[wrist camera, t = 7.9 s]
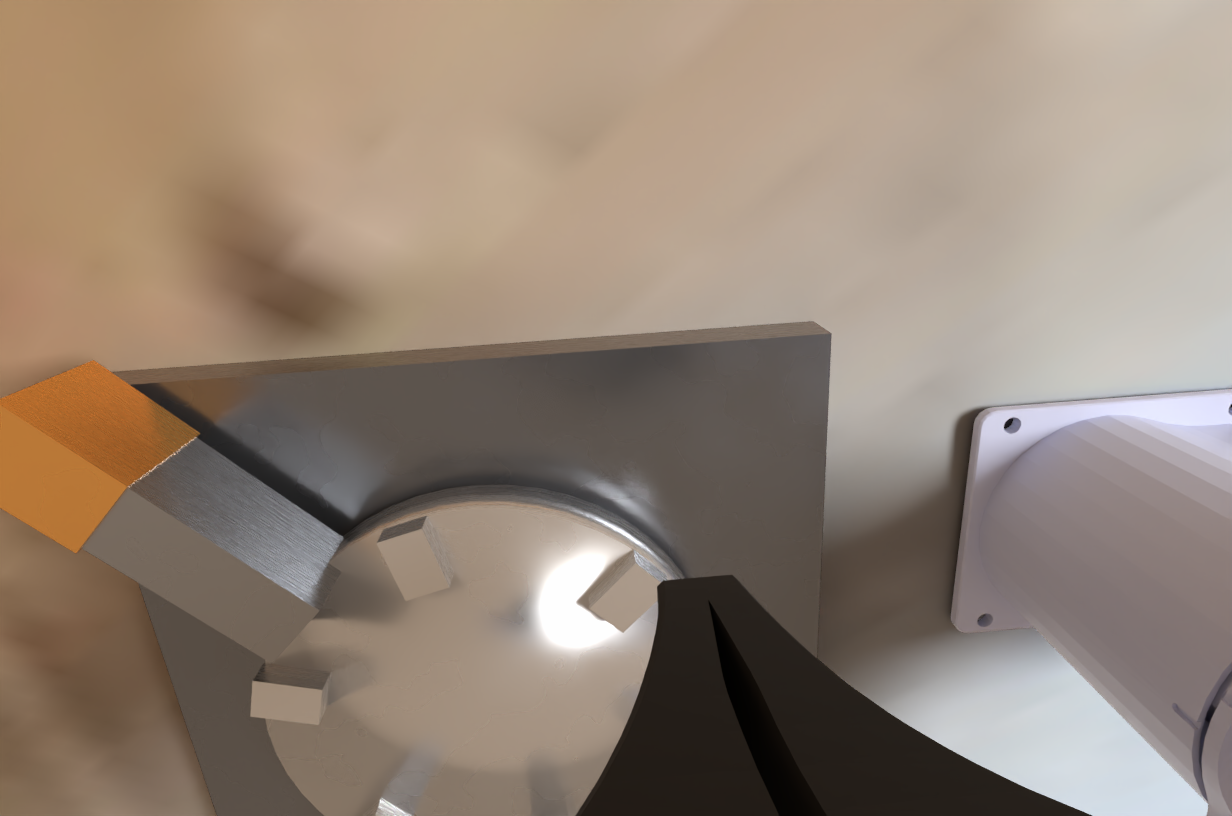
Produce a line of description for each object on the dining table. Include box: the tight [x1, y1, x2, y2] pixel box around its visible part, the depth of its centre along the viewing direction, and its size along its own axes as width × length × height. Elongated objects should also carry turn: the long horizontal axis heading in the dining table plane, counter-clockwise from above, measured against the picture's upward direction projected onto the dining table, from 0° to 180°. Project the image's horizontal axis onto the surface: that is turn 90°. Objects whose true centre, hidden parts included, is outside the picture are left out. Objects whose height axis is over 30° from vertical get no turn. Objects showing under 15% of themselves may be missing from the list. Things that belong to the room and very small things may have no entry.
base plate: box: [112, 321, 831, 816], centre depth 23 cm, size 20×20×2 cm
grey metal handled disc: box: [0, 360, 685, 816], centre depth 19 cm, size 13×20×3 cm, turn 48°
